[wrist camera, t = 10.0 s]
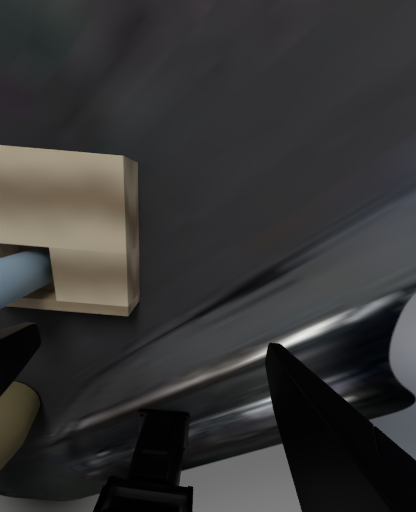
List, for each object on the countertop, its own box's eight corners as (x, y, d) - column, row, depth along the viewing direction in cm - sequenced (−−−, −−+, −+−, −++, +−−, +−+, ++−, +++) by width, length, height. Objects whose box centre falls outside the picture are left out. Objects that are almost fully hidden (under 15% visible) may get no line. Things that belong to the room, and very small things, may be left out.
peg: (67, 281, 20) (-22, 332, 13) (32, 278, 20) (-78, 327, 13) (62, 248, 19) (-37, 281, 12) (26, 245, 19) (-97, 276, 12)
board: (139, 300, 21) (128, 316, 18) (8, 289, 21) (-24, 303, 18) (137, 162, 18) (123, 155, 15) (-22, 149, 17) (-68, 139, 15)
